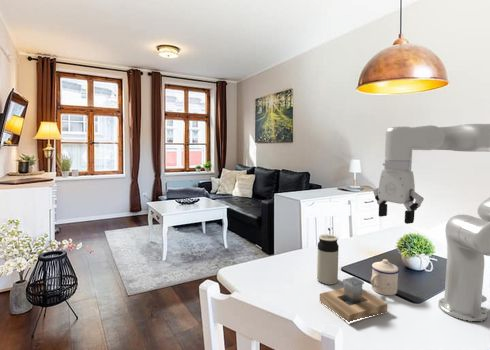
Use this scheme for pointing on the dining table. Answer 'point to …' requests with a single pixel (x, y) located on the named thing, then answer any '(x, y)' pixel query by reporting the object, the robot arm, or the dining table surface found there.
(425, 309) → the dining table surface
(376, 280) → the teacup with lid
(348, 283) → the upright grey block
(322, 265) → the travel mug
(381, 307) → the well block
